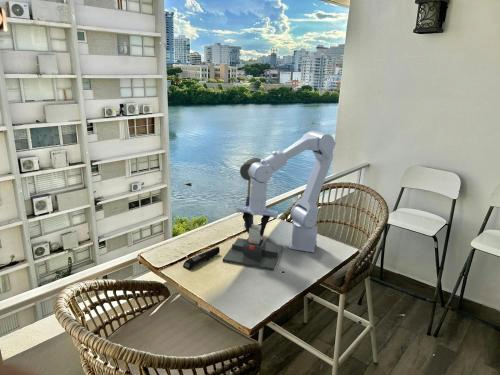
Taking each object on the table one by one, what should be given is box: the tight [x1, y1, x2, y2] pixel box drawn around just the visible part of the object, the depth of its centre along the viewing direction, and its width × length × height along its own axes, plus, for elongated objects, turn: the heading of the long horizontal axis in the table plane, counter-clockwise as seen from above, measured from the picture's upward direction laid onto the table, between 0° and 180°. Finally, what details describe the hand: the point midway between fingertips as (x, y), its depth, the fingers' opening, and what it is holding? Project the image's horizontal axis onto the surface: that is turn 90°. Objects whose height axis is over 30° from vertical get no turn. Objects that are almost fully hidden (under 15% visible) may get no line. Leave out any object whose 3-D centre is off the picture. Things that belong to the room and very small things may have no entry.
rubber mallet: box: [239, 157, 262, 230], centre depth 147 cm, size 12×8×30 cm, turn 164°
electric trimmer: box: [182, 246, 221, 271], centre depth 124 cm, size 4×16×3 cm, turn 141°
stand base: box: [222, 236, 284, 272], centre depth 130 cm, size 18×18×5 cm
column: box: [248, 223, 263, 246], centre depth 128 cm, size 4×4×8 cm
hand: (255, 233), depth 128 cm, fingers closed on column, 4 cm apart
